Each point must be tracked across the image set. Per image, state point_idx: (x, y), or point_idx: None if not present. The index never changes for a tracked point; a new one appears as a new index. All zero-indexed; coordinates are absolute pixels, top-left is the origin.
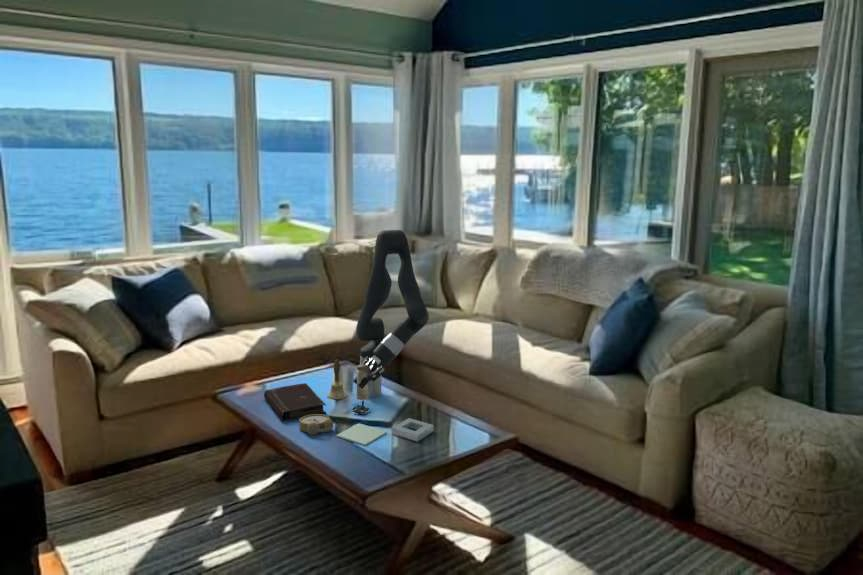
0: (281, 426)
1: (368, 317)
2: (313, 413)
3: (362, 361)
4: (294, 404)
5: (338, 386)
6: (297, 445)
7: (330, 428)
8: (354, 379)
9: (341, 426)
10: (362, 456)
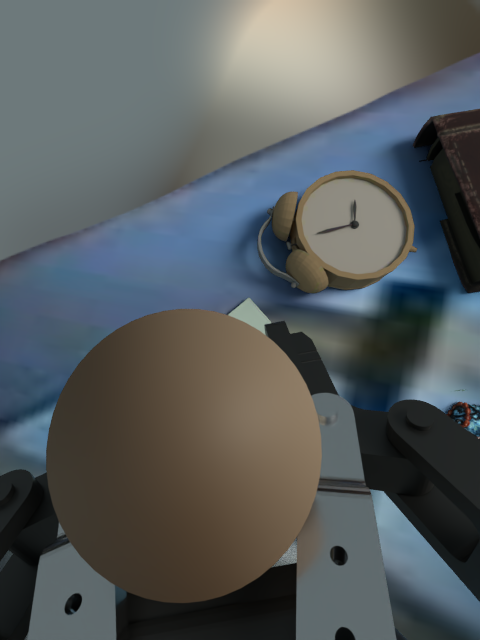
0: (371, 138)
1: None
2: (462, 243)
3: None
4: None
5: None
6: (213, 173)
7: (280, 276)
8: (279, 330)
9: (334, 331)
10: (73, 357)
